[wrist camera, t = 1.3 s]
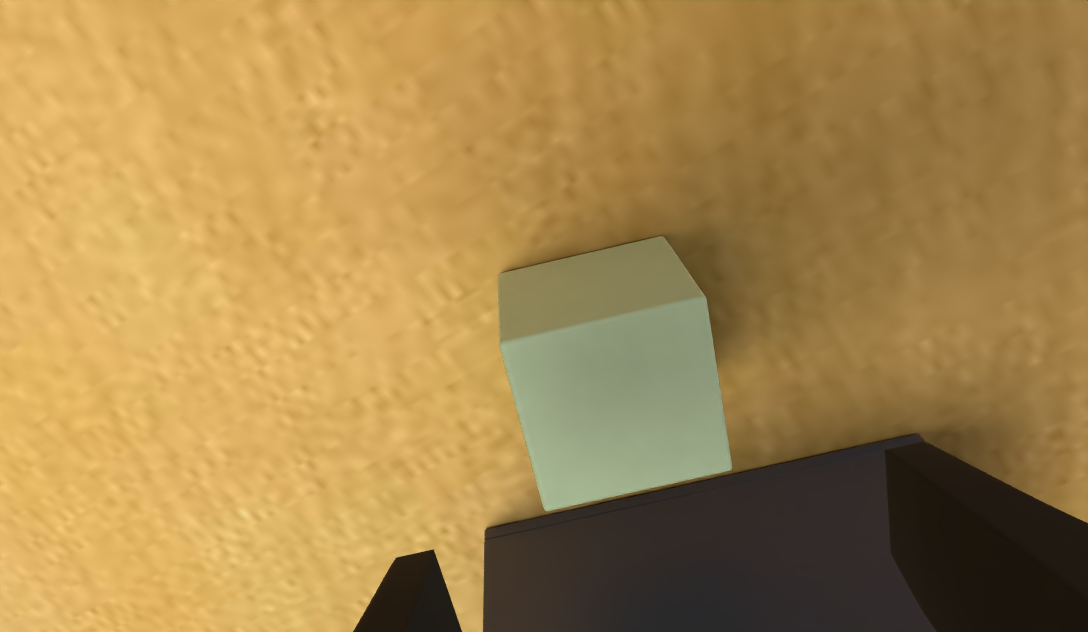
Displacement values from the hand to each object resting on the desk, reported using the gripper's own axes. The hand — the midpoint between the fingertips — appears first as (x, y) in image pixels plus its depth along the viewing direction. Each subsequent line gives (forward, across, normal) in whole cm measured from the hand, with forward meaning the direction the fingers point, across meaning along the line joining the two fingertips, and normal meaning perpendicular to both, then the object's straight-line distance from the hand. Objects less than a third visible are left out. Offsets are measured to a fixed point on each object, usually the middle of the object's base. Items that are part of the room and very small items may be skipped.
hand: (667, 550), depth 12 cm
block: (+9, 0, 0) cm, 9 cm away
